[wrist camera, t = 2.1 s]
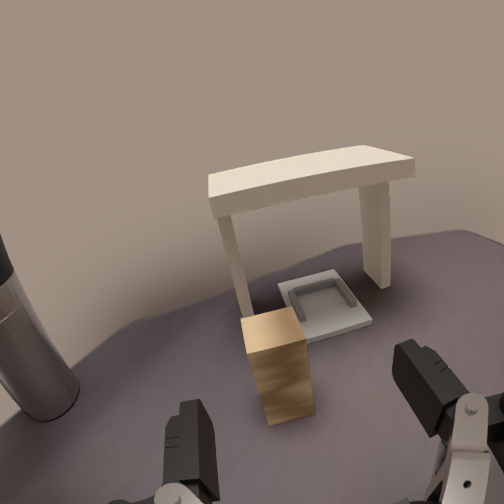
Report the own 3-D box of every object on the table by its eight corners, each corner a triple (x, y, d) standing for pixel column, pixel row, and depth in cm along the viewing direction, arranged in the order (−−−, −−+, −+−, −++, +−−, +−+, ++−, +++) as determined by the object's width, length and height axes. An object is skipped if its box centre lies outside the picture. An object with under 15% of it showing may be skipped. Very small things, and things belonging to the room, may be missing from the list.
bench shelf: (251, 358, 35) (208, 198, 27) (239, 297, 47) (208, 173, 39) (412, 309, 36) (415, 158, 28) (368, 264, 48) (359, 144, 40)
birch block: (269, 426, 26) (246, 353, 22) (261, 392, 30) (240, 318, 26) (314, 414, 26) (306, 338, 22) (303, 382, 30) (291, 306, 26)
